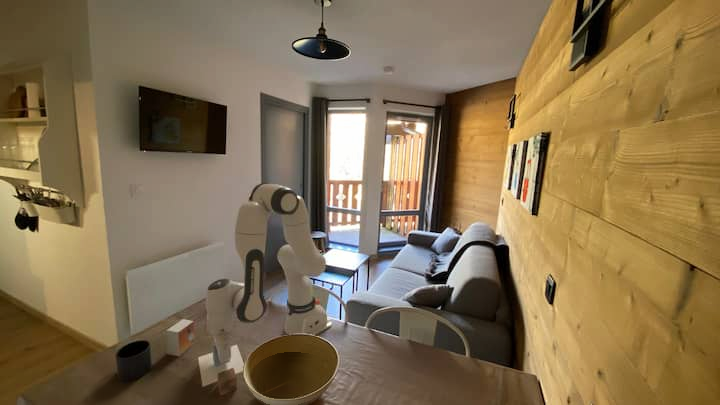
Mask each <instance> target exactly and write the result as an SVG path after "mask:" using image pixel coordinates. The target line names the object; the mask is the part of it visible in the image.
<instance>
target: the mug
mask: <svg viewBox="0 0 720 405" xmlns="http://www.w3.org/2000/svg"><path fill="white" fill-rule="evenodd" d="M151 350H152V349H151V343H150V341H148V340H146V339H145V340H143V339H142V340H136V341H131V342H128V343H127V344H125V345H123V346H121V347H120V348H119V349H118V350H117V351H116V352H115V361H116V362H115V363H116V373H117V379H118V380H119V381H121V382H124V383H125V382H131V381H135V380H138V379H140V378H141V377H143V376H145V375H146V374H147V373H148V372H150V371H151V369H152V367H153V364H152V351H151Z"/></svg>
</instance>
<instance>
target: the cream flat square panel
mask: <svg viewBox="0 0 720 405" xmlns="http://www.w3.org/2000/svg"><path fill="white" fill-rule="evenodd" d="M198 365H199V366H198V367H199V372H200V377H201V386H202V388H203V387H206V386H209V385H211V384H214V383H216V382H218V373H220V372H223V371H226V370H228V369H231V368H234V371H235V374H236V375H237V374H240V373H243V372H244V371H243V366H245V363H244V361H243V358H242V355H241V352H240V349H239V347H238V344H234V345H232V346H231V359H230V362H228V363H225V364H222V365H220V366H217V367H215V365H214V361H213V352H210V353H207V354H204V355H201V356H198Z"/></svg>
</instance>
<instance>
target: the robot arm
mask: <svg viewBox="0 0 720 405" xmlns="http://www.w3.org/2000/svg"><path fill="white" fill-rule="evenodd" d="M272 213H273V214H277V215H280V216H281V223H282V229H283V230H282V231H283V235H284V239H285V241H286V243H287V244H284V245H283V246H281V247H280V248H279V250H278V252H277V256H276V258H277V261H278V263H279V264H280V266H281V267H282V269H283V272H284V275H285V279H286V283H287V299H286V319H285V323H284V326H283V331H284V333H285V334H286V335H288V334H294V333H307V334H312V335H314V336H316V335H318V334H320V333H321V332H323V331H324V330H327V329H328V328H330V327H332V324H333V323H332V322H333V321H332V319H331V317H330V316H329V315H328V314H327V312H326V310H325V308H324V307H323V306H322V305H320V302H321V301H320V300H319V299H318V298H317V299H316V297H315V296H313V289H314V286H313V281H312V280H311V278H318V277H321V275H322V274H323V273H324V272H325V270H326V266H327V261H326V257H324V256H323V255H322V253H321V252H320V251H319V249H318V248H317V246H316V244H315V242H314V240H313V237H312V234H311V229H310V228H311V227H310V222H309V219H310V218H309V214H308V209H307V207H306V203H305V200H304V198H303V197H302V196H300V195H298V194H297V193H296V191H294V190H293V189H291V188H290V187H287V186H284V185H281V184H276V183H270V182H268V183H267V182H263V183H259V184H256V185H255V186H254V188H253V189H252V190H251V193H250V196H249V198H248V201H247V202H244V203H242V204H241V205H240V207H239V209H238V213H237V217H236V220H235V221H236V222H235V229H234V245H235V249H236V252H237V254H238V256H239V259H240V260H241V263H242V265H243V271H244V277H243V278H244V279H243V282H239V281H238V282H237V281H232V280H231V279H229V278H221V279H217V280H215V281H213V282H211V284H209V286H208V287H207V290H206V294H205V295H206V296H205V308H206V311H207V312H206V313H207V314H206V331H207V333H208V334H210V335H211V336H212V337H213V340H214V343H215V344H214V346H216V349H217V353H218V356H219V360H220V363H224V362H226V361H227V360H230V359H231V339H230V335H229V332H230V330H232V328H233V327H234V325H235V324H234V323H235V322H234V321H235V320H234V313H236V317H237V319H238V320H239V322H241V323H243V324H253V323H255V322H257V321H260V319H261V318H262V317H263V316H264V315H265V313H266V311H267V308H268V304H267V301H266V299H265V296H264V275H265V274H264V272H265V270H264V268H265V265H264V264H265V250H266V242H267V235H268V234H267V232H268V221H269V219H270V217H271V215H272ZM310 277H311V278H310ZM327 317H328V318H327Z"/></svg>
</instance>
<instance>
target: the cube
mask: <svg viewBox="0 0 720 405" xmlns="http://www.w3.org/2000/svg"><path fill="white" fill-rule="evenodd" d="M212 353H213V361H214V365H215V367H217V366H220V365H222V364H225V363H228V362H230V360H227V361H226V362H224V363H220V360H219V356H218V353H217V349H216V345H213V346H212Z"/></svg>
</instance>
